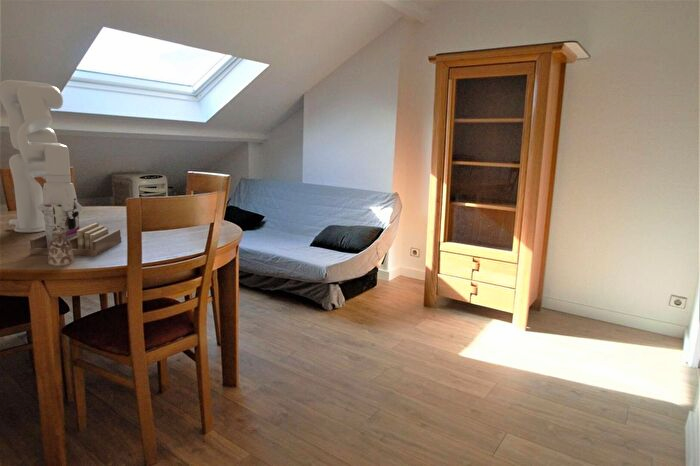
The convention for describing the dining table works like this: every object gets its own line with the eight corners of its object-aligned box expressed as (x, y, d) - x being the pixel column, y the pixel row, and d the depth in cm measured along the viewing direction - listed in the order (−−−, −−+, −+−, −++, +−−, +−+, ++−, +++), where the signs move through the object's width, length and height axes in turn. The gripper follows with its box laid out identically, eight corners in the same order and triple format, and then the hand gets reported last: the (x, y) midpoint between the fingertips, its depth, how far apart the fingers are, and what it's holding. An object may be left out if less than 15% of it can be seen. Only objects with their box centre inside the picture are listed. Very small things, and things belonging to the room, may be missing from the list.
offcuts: (78, 252, 166) (76, 230, 164) (96, 243, 180) (94, 222, 178) (94, 252, 167) (92, 230, 165) (110, 243, 180) (109, 223, 179)
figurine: (46, 266, 149) (43, 229, 146) (50, 260, 155) (47, 225, 153) (72, 264, 152) (69, 228, 149) (75, 259, 158) (72, 224, 156)
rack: (30, 254, 161) (28, 240, 160) (63, 239, 183) (62, 227, 182) (95, 256, 163) (95, 242, 162) (121, 241, 185) (120, 229, 184)
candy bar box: (70, 243, 178) (66, 200, 175) (81, 244, 177) (78, 201, 174) (45, 249, 167) (41, 204, 164) (57, 251, 166) (54, 205, 163)
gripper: (27, 179, 163) (31, 230, 166) (78, 181, 164) (82, 231, 168) (39, 177, 170) (43, 225, 174) (88, 179, 171) (91, 227, 175)
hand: (62, 228), depth 171 cm, fingers closed on candy bar box, 5 cm apart
